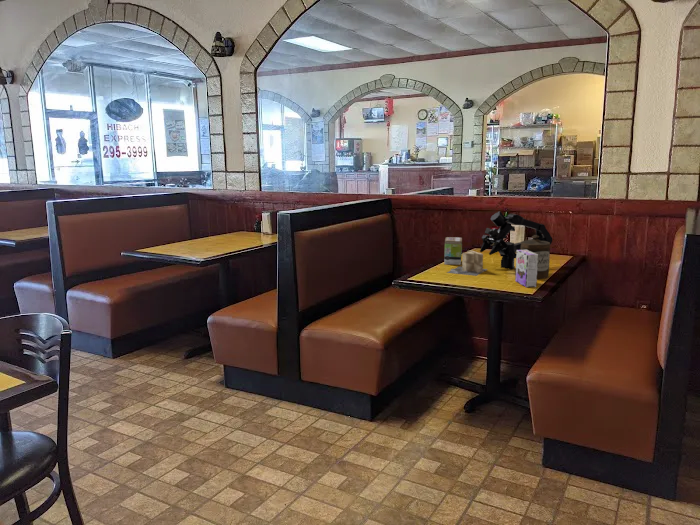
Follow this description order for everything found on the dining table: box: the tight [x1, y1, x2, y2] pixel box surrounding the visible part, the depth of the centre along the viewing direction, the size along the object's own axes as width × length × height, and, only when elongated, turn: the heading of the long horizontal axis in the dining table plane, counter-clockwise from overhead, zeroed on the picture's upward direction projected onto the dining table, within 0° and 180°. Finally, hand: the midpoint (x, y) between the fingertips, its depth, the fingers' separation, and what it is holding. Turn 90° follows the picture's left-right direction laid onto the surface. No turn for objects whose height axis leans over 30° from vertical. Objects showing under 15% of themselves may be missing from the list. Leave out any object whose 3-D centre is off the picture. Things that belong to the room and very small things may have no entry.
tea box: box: [443, 236, 463, 266], centre depth 331 cm, size 15×10×15 cm, turn 168°
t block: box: [461, 250, 484, 273], centre depth 307 cm, size 8×12×10 cm, turn 18°
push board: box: [446, 266, 488, 277], centre depth 307 cm, size 17×18×2 cm
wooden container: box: [520, 234, 551, 280], centre depth 292 cm, size 15×15×22 cm
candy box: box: [515, 250, 538, 288], centre depth 276 cm, size 14×6×16 cm, turn 5°
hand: (484, 253), depth 309 cm, fingers open, 9 cm apart
